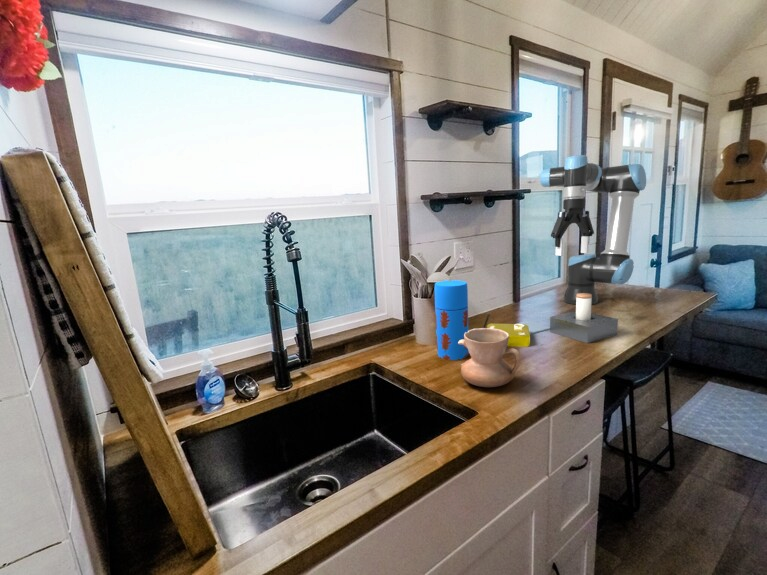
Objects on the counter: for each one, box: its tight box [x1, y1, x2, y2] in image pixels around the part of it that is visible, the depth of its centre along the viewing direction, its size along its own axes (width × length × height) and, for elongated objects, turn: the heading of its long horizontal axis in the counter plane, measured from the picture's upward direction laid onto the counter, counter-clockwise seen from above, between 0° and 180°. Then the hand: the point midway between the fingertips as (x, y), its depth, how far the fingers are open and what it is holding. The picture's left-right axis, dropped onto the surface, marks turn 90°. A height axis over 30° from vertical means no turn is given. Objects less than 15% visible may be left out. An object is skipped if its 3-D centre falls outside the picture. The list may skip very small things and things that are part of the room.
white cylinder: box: [575, 293, 592, 321], centre depth 142 cm, size 5×5×15 cm
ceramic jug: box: [458, 327, 522, 388], centre depth 107 cm, size 18×14×14 cm
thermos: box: [434, 279, 469, 361], centre depth 129 cm, size 11×11×25 cm
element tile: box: [486, 323, 531, 348], centre depth 142 cm, size 15×15×5 cm
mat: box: [516, 320, 550, 335], centre depth 153 cm, size 12×12×1 cm
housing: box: [549, 310, 619, 344], centre depth 143 cm, size 16×16×6 cm
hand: (571, 254), depth 148 cm, fingers open, 13 cm apart
